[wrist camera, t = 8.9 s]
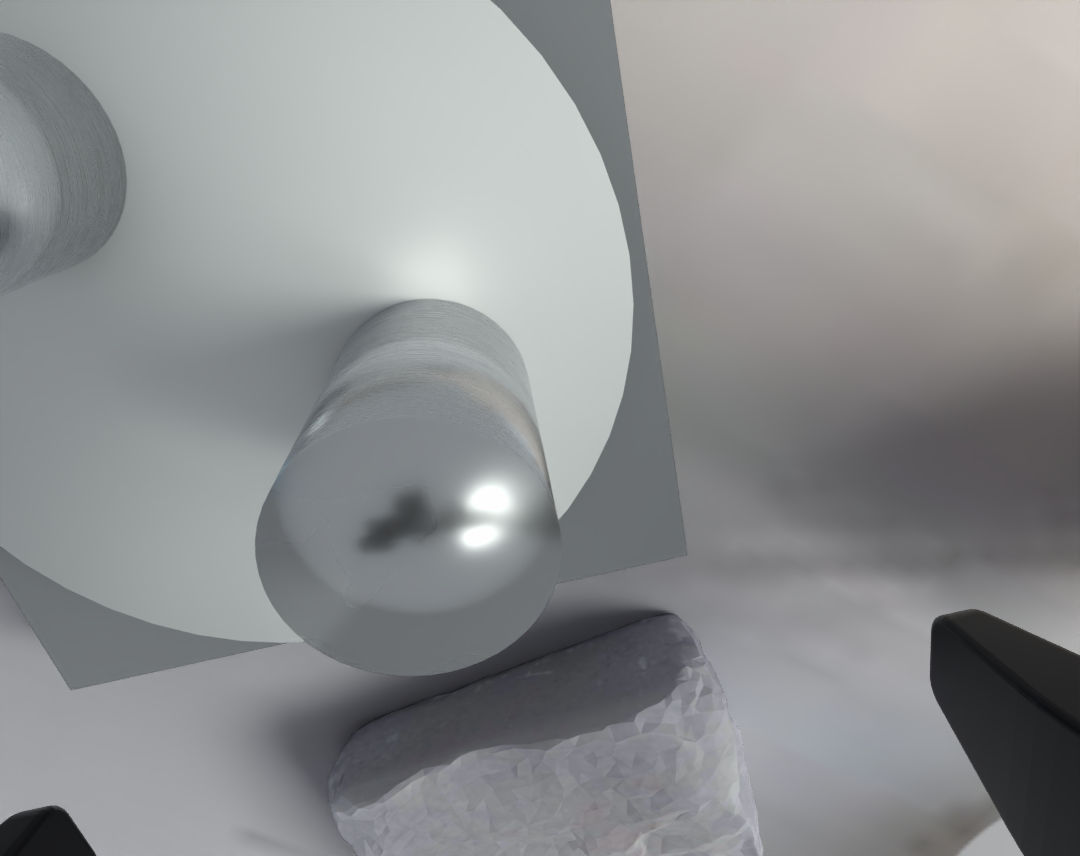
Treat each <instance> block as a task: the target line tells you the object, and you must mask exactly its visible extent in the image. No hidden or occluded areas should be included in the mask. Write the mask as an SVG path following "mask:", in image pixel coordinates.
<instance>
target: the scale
mask: <svg viewBox="0 0 1080 856" xmlns="http://www.w3.org/2000/svg"><path fill="white" fill-rule="evenodd" d="M0 32H2V33H6V34H10V35H12V36H15V37H17V38H20V39H22V40H25V41H27V42H29V43H31V44H33V45H35V46H37V47H39V48H41V49H42V50H44V51H46V52H47V53H49V54H50V55H52V56H53V57H55V58H56V59H57V60H59V61H60V62H62V63H63V64H64V65H65V66H66V67H67V68H69V69H70V70H71V71H72V72H73V73H74V74H76V76H77V77H78V78H79V79H80V80H81V81H82V82H83V83H84V84H85V85H86V86H87V87H88V88H89V89H90V91H91V92H92V93H93V95H94V96H95V97H96V98H97V100H98V101H99V102H100V104H101V106H102V107H103V109H104V110H105V112H106V114H107V115H108V117H109V119H110V121H111V123H112V125H113V127H114V129H115V131H116V133H117V136H118V139H119V142H120V145H121V148H122V152H123V156H124V161H125V165H126V177H127V188H126V199H125V204H124V209H123V212H122V215H121V218H120V221H119V223H118V225H117V227H116V229H115V231H114V233H113V234H112V236H111V237H110V238H109V240H108V241H107V242H106V243H105V245H104V246H103V247H102V248H100V249H99V250H98V251H97V252H96V253H95V254H94V255H92V256H91V257H89V258H88V259H86V260H85V261H83V262H81V263H79V264H77V265H75V266H72V267H70V268H68V269H65V270H63V271H61V272H58V273H56V274H53V275H51V276H49V277H46V278H44V279H42V280H39V281H37V282H34V283H32V284H30V285H27V286H25V287H23V288H20V289H18V290H15V291H13V292H11V293H8V294H6V295H3V296H1V297H0V578H1V579H2V581H3V583H4V584H5V586H6V587H7V589H8V591H9V592H10V594H11V595H12V597H13V599H14V600H15V602H16V603H17V605H18V607H19V608H20V610H21V612H22V613H23V615H24V616H25V618H26V620H27V621H28V623H29V624H30V626H31V628H32V629H33V631H34V632H35V634H36V636H37V637H38V639H39V640H40V642H41V644H42V645H43V647H44V648H45V650H46V652H47V653H48V655H49V656H50V658H51V660H52V661H53V663H54V665H55V666H56V668H57V669H58V671H59V673H60V674H61V676H62V677H63V679H64V681H65V682H66V684H67V685H68V687H69V689H70V690H74V689H79V688H84V687H88V686H93V685H97V684H102V683H106V682H111V681H116V680H120V679H125V678H129V677H134V676H138V675H143V674H147V673H152V672H157V671H161V670H166V669H170V668H175V667H179V666H184V665H189V664H193V663H198V662H202V661H207V660H211V659H216V658H221V657H225V656H230V655H234V654H239V653H243V652H248V651H252V650H257V649H262V648H266V647H271V646H275V645H280V644H284V643H291V642H305V641H304V640H303V639H302V638H300V637H299V636H298V635H297V634H296V633H294V632H293V630H292V629H291V628H290V627H289V626H288V625H287V624H286V623H285V622H284V621H283V620H282V618H281V617H280V616H279V614H278V613H277V612H276V610H275V609H274V607H273V606H272V604H271V602H270V600H269V599H268V597H267V595H266V593H265V591H264V588H263V586H262V583H261V580H260V577H259V574H258V569H257V563H256V558H255V536H256V528H257V522H258V519H259V515H260V512H261V509H262V506H263V504H264V502H265V500H266V497H267V495H268V493H269V491H270V489H271V487H272V485H273V484H274V482H275V480H276V478H277V476H278V474H279V472H280V470H281V468H282V466H283V464H284V462H285V460H286V458H287V457H288V455H289V453H290V451H291V449H292V447H293V445H294V443H295V441H296V439H297V437H298V435H299V433H300V432H301V430H302V428H303V426H304V424H305V422H306V420H307V418H308V416H309V414H310V412H311V410H312V408H313V407H314V405H315V403H316V401H317V399H318V397H319V395H320V393H321V391H322V389H323V387H324V385H325V383H326V382H327V380H328V378H329V376H330V374H331V372H332V370H333V368H334V366H335V364H336V362H337V360H338V358H339V357H340V355H341V353H342V351H343V349H344V347H345V345H346V343H347V342H348V341H349V339H350V338H351V336H352V335H353V334H354V333H355V331H356V330H357V329H358V328H359V327H360V326H361V325H362V324H363V323H365V322H366V321H367V320H368V319H369V318H371V317H372V316H374V315H375V314H377V313H379V312H380V311H382V310H384V309H386V308H389V307H391V306H393V305H396V304H400V303H403V302H406V301H412V300H419V299H439V300H448V301H452V302H456V303H460V304H463V305H466V306H468V307H471V308H473V309H475V310H477V311H479V312H481V313H483V314H485V315H486V316H488V317H489V318H490V319H492V320H493V321H495V322H496V323H497V324H498V325H499V326H500V327H501V328H502V329H503V330H505V332H506V333H507V334H508V335H509V336H510V338H511V339H512V340H513V341H514V343H515V345H516V346H517V348H518V349H519V351H520V353H521V356H522V358H523V360H524V362H525V366H526V369H527V372H528V377H529V382H530V386H531V391H532V396H533V401H534V406H535V410H536V415H537V420H538V425H539V430H540V434H541V439H542V444H543V449H544V454H545V459H546V463H547V468H548V473H549V478H550V483H551V487H552V492H553V497H554V502H555V507H556V512H557V516H558V521H559V526H560V533H561V540H562V560H561V566H560V572H559V577H558V580H557V583H556V584H558V583H563V582H567V581H572V580H577V579H581V578H586V577H590V576H595V575H599V574H604V573H608V572H613V571H618V570H622V569H627V568H631V567H636V566H640V565H645V564H650V563H654V562H659V561H663V560H668V559H672V558H677V557H681V556H686V555H687V549H686V542H685V535H684V528H683V521H682V513H681V506H680V499H679V492H678V485H677V477H676V470H675V463H674V456H673V449H672V441H671V434H670V427H669V420H668V413H667V406H666V398H665V391H664V384H663V377H662V370H661V362H660V355H659V348H658V341H657V334H656V326H655V319H654V312H653V305H652V298H651V290H650V283H649V276H648V269H647V262H646V255H645V247H644V240H643V233H642V226H641V219H640V211H639V204H638V197H637V190H636V183H635V175H634V168H633V161H632V154H631V147H630V140H629V132H628V125H627V118H626V111H625V104H624V96H623V89H622V82H621V75H620V68H619V60H618V53H617V46H616V39H615V32H614V25H613V17H612V10H611V3H610V0H0Z"/></svg>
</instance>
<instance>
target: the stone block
mask: <svg viewBox="0 0 1080 856" xmlns="http://www.w3.org/2000/svg"><path fill="white" fill-rule="evenodd" d="M328 796H329V805H330V808H331V812H332V816H333V819H334V821H335V824H336V826H337V828H338V830H339V832H340V834H341V835H342V837H343V839H345V840H346V841H347V842H348V843H349V844H350V845H351V846H352V847H353V849H354V851H355V852H356V854H357V856H762V855H763V847H762V842H761V838H760V835H759V826H758V818H757V817H758V814H757V810H756V806H755V802H754V797H753V792H752V789H751V785H750V778H749V772H748V770H747V767H746V764H745V759H744V744H743V741H742V739H741V734H740V728H739V726H737V725H736V724H735V722H734V720H733V719H732V717H731V716H730V715H729V710H728V704H727V699H726V697H725V694H724V691H723V688H722V686H721V684H720V681H719V679H718V677H717V675H716V673H715V671H714V669H713V668H712V666H711V663H710V662H709V661H708V659H707V658H706V656H705V655H704V653H703V651H702V648H701V644H700V642H699V640H698V639H697V637H696V636H695V635H694V633H693V631H692V630H691V628H689V627H688V626H687V625H686V624H685V622H684V621H683V620H682V619H680V618H679V617H678V616H677V615H672V614H666V615H661V616H655V617H650V618H647V619H644V620H641V621H638V622H635V623H633V624H630V625H627V626H625V627H622V628H619V629H617V630H614V631H611V632H608V633H605V634H603V635H600V636H597V637H594V638H592V639H589V640H587V641H584V642H582V643H579V644H576V645H574V646H571V647H568V648H566V649H563V650H560V651H557V652H555V653H552V654H549V655H546V656H544V657H541V658H539V659H536V660H534V661H531V662H528V663H525V664H522V665H520V666H517V667H514V668H512V669H509V670H506V671H504V672H501V673H499V674H496V675H493V676H490V677H487V678H484V679H481V680H478V681H476V682H474V683H472V684H470V685H468V686H466V687H464V688H461V689H458V690H456V691H453V692H450V693H448V694H445V695H439V696H435V697H432V698H430V699H427V700H424V701H422V702H419V703H416V704H414V705H411V706H408V707H406V708H403V709H400V710H397V711H393V712H391V713H389V714H387V715H385V716H383V717H381V718H379V719H377V720H375V721H372V722H370V723H369V724H367V725H365V726H364V727H362V728H361V729H359V730H358V731H356V732H355V733H354V734H352V736H351V738H350V740H349V741H348V743H347V744H346V745H345V746H344V747H343V749H342V751H341V753H340V754H339V756H338V758H337V760H336V762H335V764H334V766H333V768H332V770H331V772H330V774H329V776H328Z"/></svg>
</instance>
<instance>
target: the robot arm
mask: <svg viewBox="0 0 1080 856" xmlns="http://www.w3.org/2000/svg"><path fill="white" fill-rule="evenodd" d="M930 681H931V687H932V690H933V693H934V696H935V698H936V700H937V702H938V704H939V706H940V708H941V710H942V712H943V713H944V715H945V717H946V719H947V721H948V722H949V724H950V726H951V728H952V730H953V731H954V733H955V735H956V737H957V739H958V740H959V742H960V744H961V746H962V748H963V749H964V751H965V753H966V755H967V756H968V758H969V760H970V762H971V764H972V765H973V767H974V769H975V771H976V773H977V774H978V776H979V778H980V780H981V782H982V783H983V785H984V787H985V789H986V791H987V792H988V794H989V796H990V798H991V800H992V801H993V803H994V805H995V807H996V809H997V810H998V812H999V814H1000V816H1001V818H1002V819H1003V821H1004V823H1005V825H1006V826H1007V828H1008V830H1009V831H1010V833H1011V835H1012V837H1013V838H1014V840H1015V841H1016V844H1017V845H1018V847H1019V849H1020V850H1021V852H1022V853H1023V855H1024V856H1080V655H1078V654H1076V653H1074V652H1071V651H1069V650H1067V649H1065V648H1063V647H1060V646H1058V645H1056V644H1054V643H1052V642H1049V641H1047V640H1045V639H1043V638H1041V637H1039V636H1036V635H1034V634H1032V633H1030V632H1028V631H1025V630H1023V629H1021V628H1019V627H1017V626H1014V625H1012V624H1010V623H1008V622H1006V621H1003V620H1001V619H999V618H997V617H995V616H992V615H990V614H988V613H986V612H983V611H980V610H976V609H969V610H964V611H960V612H955V613H950V614H945V615H941V616H939V617H937V618H936V619H935V620H934V622H933V624H932V629H931V656H930ZM0 856H96V854H95V852H94V851H93V849H92V848H91V846H90V845H89V843H88V842H87V840H86V839H85V837H84V836H83V835H82V833H81V832H80V830H79V829H78V827H77V826H76V824H75V823H74V821H73V820H72V818H71V817H70V816H69V814H68V813H67V812H66V811H65V810H64V809H63V808H61V807H59V806H46V807H42V808H37V809H32V810H28V811H23V812H20V813H17V814H15V815H13V816H11V817H9V818H8V819H7V820H5V821H4V822H3V823H2V824H1V825H0Z"/></svg>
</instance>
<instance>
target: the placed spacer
mask: <svg viewBox="0 0 1080 856" xmlns="http://www.w3.org/2000/svg"><path fill="white" fill-rule="evenodd" d="M126 188H127V177H126V165H125V161H124V156H123V152H122V148H121V145H120V142H119V139H118V136H117V133H116V131H115V129H114V127H113V125H112V123H111V121H110V119H109V117H108V115H107V114H106V112H105V110H104V109H103V107H102V106H101V104H100V102H99V101H98V100H97V98H96V97H95V96H94V95H93V93H92V92H91V91H90V89H89V88H88V87H87V86H86V85H85V84H84V83H83V82H82V81H81V80H80V79H79V78H78V77H77V76H76V74H74V73H73V72H72V71H71V70H70V69H69V68H67V67H66V66H65V65H64V64H63V63H62V62H60V61H59V60H57V59H56V58H55V57H53V56H52V55H50V54H49V53H47V52H46V51H44V50H42V49H41V48H39V47H37V46H35V45H33V44H31V43H29V42H27V41H25V40H22V39H20V38H17V37H15V36H12V35H10V34H6V33H2V32H0V297H1V296H3V295H6V294H8V293H11V292H13V291H15V290H18V289H20V288H23V287H25V286H27V285H30V284H32V283H34V282H37V281H39V280H42V279H44V278H46V277H49V276H51V275H53V274H56V273H58V272H61V271H63V270H65V269H68V268H70V267H72V266H75V265H77V264H79V263H81V262H83V261H85V260H86V259H88V258H89V257H91V256H92V255H94V254H95V253H96V252H97V251H98V250H99V249H100V248H102V247H103V246H104V245H105V243H106V242H107V241H108V240H109V238H110V237H111V236H112V234H113V233H114V231H115V229H116V227H117V225H118V223H119V221H120V218H121V215H122V212H123V209H124V204H125V199H126Z"/></svg>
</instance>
